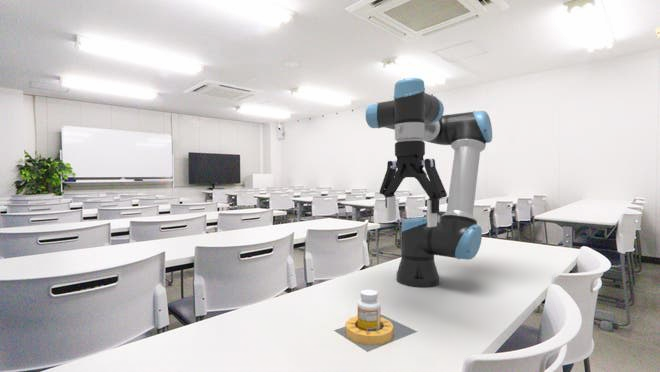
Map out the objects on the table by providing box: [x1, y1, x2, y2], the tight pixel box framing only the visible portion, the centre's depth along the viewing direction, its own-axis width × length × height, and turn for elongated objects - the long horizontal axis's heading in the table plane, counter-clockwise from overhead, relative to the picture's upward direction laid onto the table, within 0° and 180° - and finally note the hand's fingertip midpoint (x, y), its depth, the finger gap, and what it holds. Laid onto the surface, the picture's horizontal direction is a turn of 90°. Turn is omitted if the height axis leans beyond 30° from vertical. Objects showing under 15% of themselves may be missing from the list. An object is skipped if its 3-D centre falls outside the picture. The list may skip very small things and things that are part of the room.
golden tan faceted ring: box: [344, 315, 394, 345], centre depth 77 cm, size 11×11×2 cm
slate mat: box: [334, 314, 418, 353], centre depth 78 cm, size 12×16×1 cm
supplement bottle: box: [357, 289, 381, 332], centre depth 77 cm, size 5×5×10 cm
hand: (410, 223), depth 84 cm, fingers open, 13 cm apart
